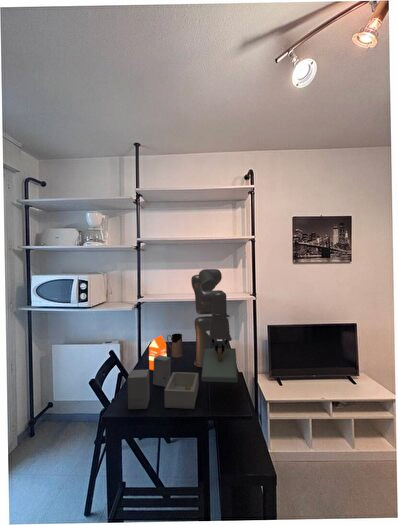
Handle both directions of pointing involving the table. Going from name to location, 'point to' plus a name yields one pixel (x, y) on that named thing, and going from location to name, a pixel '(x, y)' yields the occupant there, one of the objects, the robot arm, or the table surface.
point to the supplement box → (138, 389)
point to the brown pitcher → (176, 345)
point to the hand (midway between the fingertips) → (219, 352)
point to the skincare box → (161, 370)
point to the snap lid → (220, 365)
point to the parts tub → (181, 390)
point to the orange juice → (156, 350)
